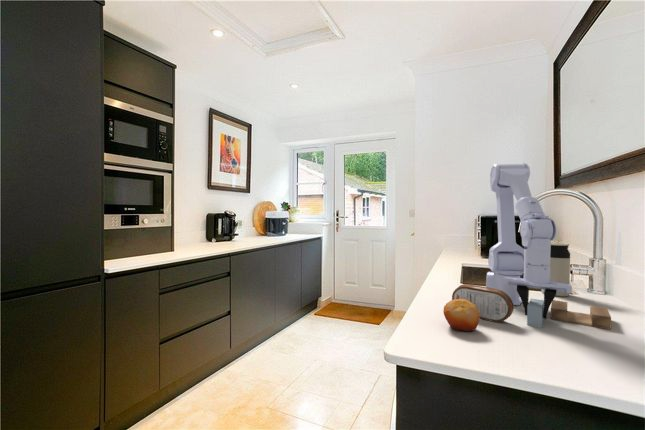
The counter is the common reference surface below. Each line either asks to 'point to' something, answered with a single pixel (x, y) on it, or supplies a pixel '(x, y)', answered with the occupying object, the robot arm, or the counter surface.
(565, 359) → the counter surface
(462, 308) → the fruit
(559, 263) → the travel mug
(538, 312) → the pale blue tapered bar
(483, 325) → the counter surface
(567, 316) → the slot block
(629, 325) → the counter surface
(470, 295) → the tin
